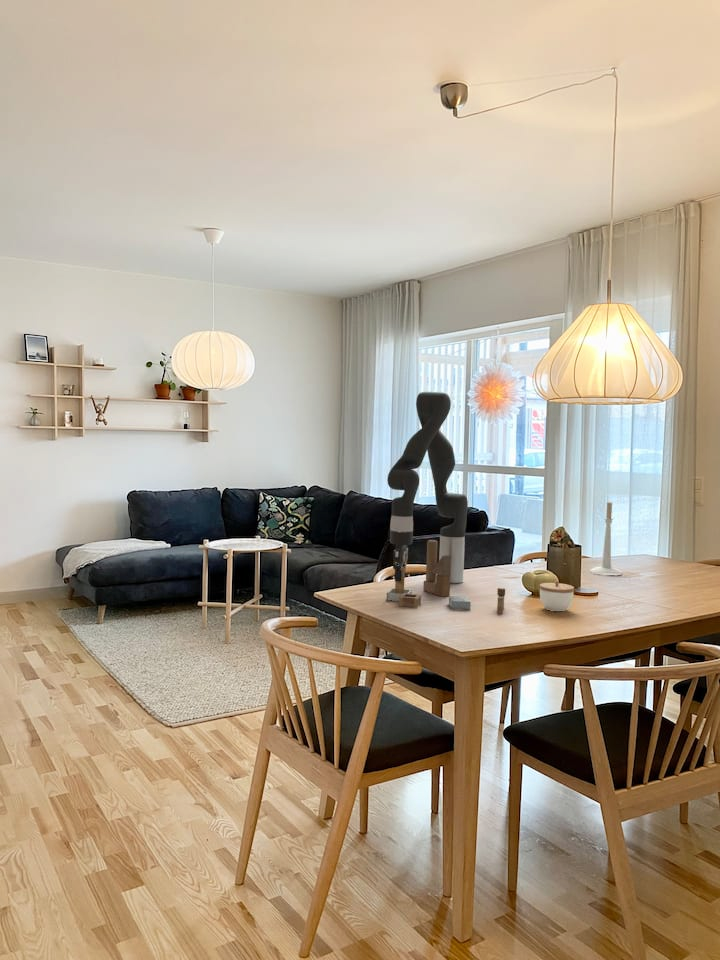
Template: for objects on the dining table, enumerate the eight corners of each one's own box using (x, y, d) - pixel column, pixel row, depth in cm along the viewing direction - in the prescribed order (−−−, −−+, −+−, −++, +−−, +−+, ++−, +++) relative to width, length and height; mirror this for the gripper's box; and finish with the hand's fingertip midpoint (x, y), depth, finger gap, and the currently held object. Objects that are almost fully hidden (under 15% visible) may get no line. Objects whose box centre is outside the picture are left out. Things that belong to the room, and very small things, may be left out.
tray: (391, 595, 253) (391, 588, 253) (411, 597, 252) (411, 589, 252) (386, 600, 246) (386, 592, 245) (407, 602, 244) (407, 594, 244)
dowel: (395, 596, 251) (396, 566, 250) (404, 596, 250) (405, 567, 249) (394, 597, 248) (394, 568, 247) (402, 598, 247) (403, 568, 246)
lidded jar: (568, 606, 245) (569, 578, 245) (576, 614, 234) (578, 584, 234) (535, 605, 245) (536, 577, 245) (542, 613, 235) (544, 583, 234)
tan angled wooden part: (441, 597, 254) (443, 544, 253) (422, 590, 263) (424, 540, 262) (450, 596, 256) (452, 543, 254) (431, 590, 265) (433, 539, 264)
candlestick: (626, 576, 303) (630, 503, 301) (594, 575, 303) (598, 502, 302) (616, 571, 316) (620, 500, 314) (586, 570, 316) (589, 499, 314)
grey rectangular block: (448, 605, 243) (448, 596, 243) (466, 605, 243) (467, 596, 243) (451, 610, 236) (451, 601, 236) (470, 611, 236) (470, 601, 236)
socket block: (402, 602, 244) (402, 593, 244) (420, 603, 242) (421, 594, 242) (399, 606, 238) (399, 596, 238) (417, 607, 237) (418, 598, 236)
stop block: (497, 607, 241) (498, 585, 240) (505, 607, 240) (506, 586, 240) (495, 613, 232) (496, 591, 232) (503, 614, 232) (504, 591, 231)
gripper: (394, 526, 255) (393, 574, 256) (386, 531, 241) (384, 582, 242) (416, 527, 253) (414, 576, 254) (408, 532, 239) (407, 584, 240)
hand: (399, 579), depth 248 cm, fingers open, 6 cm apart
